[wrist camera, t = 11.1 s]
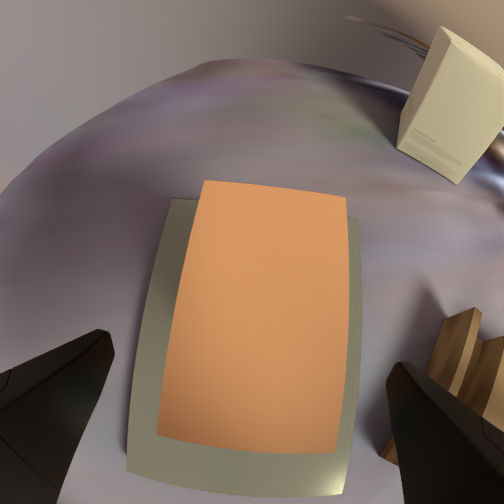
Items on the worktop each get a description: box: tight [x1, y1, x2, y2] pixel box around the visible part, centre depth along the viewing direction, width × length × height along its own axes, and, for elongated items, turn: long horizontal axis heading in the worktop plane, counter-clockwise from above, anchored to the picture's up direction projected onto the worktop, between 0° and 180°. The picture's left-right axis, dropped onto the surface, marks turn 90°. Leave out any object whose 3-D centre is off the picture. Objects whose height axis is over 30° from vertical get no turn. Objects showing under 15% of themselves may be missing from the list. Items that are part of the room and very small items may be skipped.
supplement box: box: [396, 26, 504, 185], centre depth 19 cm, size 9×9×15 cm
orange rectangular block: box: [157, 180, 349, 454], centre depth 10 cm, size 5×3×12 cm, turn 173°
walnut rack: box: [379, 307, 504, 466], centre depth 12 cm, size 12×16×4 cm
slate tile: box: [126, 198, 362, 498], centre depth 16 cm, size 20×14×2 cm
